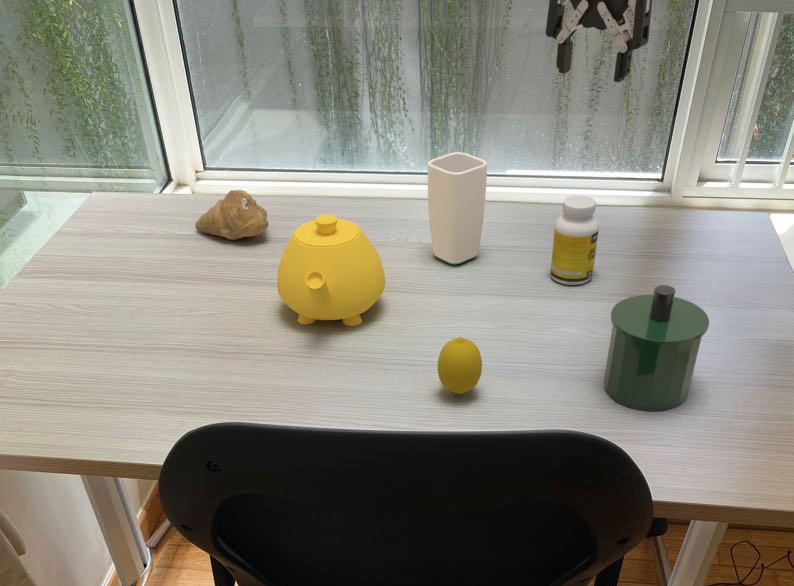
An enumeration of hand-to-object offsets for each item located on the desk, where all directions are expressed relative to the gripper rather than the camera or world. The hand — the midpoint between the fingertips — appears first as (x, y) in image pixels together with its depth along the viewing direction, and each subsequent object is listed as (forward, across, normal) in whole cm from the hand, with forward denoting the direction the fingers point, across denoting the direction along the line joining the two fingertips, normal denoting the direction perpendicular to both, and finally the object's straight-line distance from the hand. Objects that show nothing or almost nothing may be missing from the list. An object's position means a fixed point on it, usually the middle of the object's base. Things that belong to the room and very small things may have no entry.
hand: (591, 76), depth 123 cm
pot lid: (+16, -27, +29) cm, 43 cm away
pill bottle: (+26, -4, +8) cm, 27 cm away
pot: (+26, -27, +29) cm, 47 cm away
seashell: (+26, +50, +26) cm, 62 cm away
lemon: (+26, -8, +44) cm, 52 cm away
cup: (+26, +14, +12) cm, 32 cm away
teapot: (+26, +19, +38) cm, 49 cm away
